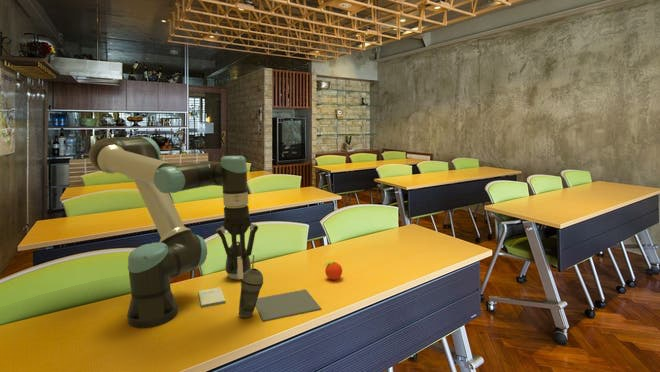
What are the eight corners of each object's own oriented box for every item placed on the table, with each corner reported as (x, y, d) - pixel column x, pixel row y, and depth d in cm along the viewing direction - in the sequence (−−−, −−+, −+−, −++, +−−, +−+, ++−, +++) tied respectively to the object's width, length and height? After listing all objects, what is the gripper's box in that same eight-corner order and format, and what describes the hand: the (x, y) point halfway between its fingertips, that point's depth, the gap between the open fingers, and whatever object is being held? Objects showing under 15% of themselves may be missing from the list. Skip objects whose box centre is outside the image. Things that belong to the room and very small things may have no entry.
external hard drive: (201, 309, 128) (198, 294, 140) (226, 304, 132) (220, 290, 143) (201, 305, 128) (198, 290, 139) (225, 300, 132) (220, 286, 143)
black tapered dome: (220, 279, 152) (218, 243, 149) (237, 270, 161) (236, 236, 158) (239, 284, 147) (237, 247, 145) (256, 275, 156) (254, 240, 154)
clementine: (322, 282, 148) (322, 265, 147) (323, 275, 155) (322, 259, 154) (342, 282, 148) (342, 265, 147) (342, 275, 155) (342, 259, 154)
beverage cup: (251, 321, 118) (263, 261, 117) (230, 315, 120) (242, 255, 118) (259, 313, 126) (271, 256, 124) (240, 307, 127) (251, 250, 125)
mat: (262, 321, 119) (262, 320, 119) (253, 300, 134) (253, 299, 133) (321, 309, 127) (321, 308, 126) (305, 290, 141) (305, 289, 141)
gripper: (215, 210, 110) (220, 285, 114) (259, 205, 115) (262, 278, 119) (213, 205, 117) (218, 276, 121) (254, 201, 122) (258, 270, 126)
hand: (240, 277), depth 120 cm, fingers closed
